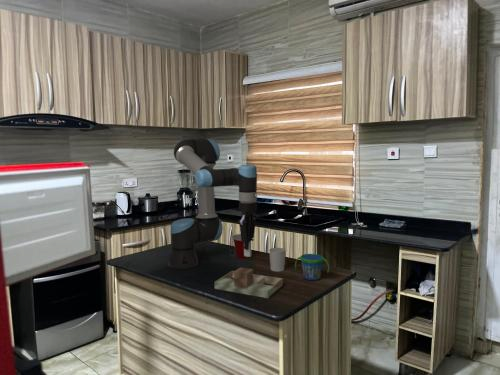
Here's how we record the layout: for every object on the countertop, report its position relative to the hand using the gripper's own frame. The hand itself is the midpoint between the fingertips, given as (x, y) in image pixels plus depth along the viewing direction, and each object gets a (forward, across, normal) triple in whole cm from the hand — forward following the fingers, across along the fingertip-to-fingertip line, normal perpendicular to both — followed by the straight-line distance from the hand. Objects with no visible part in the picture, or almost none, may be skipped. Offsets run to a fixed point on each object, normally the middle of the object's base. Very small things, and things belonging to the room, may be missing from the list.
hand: (247, 256), depth 163 cm
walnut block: (+11, -5, -1) cm, 12 cm away
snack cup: (+14, +22, -22) cm, 34 cm away
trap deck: (+14, 0, 0) cm, 14 cm away
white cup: (+14, +27, -3) cm, 31 cm away
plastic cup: (+15, +38, +22) cm, 46 cm away
